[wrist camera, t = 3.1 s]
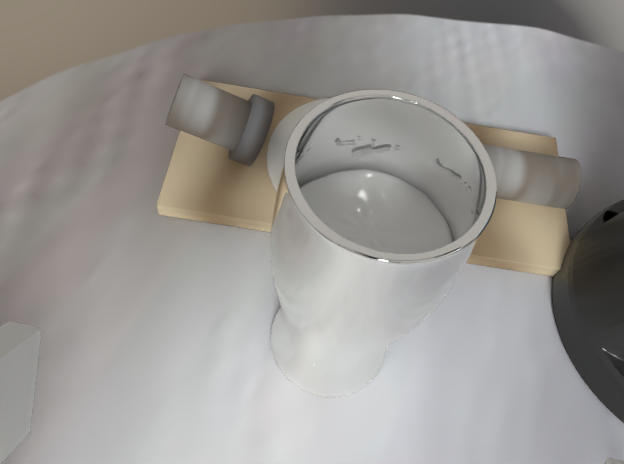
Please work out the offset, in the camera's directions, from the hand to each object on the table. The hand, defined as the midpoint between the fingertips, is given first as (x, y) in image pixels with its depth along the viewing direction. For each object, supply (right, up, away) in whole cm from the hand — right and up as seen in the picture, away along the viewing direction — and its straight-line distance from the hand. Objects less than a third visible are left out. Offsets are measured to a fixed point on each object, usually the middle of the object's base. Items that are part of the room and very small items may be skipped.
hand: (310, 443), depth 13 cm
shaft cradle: (+3, +8, +23) cm, 24 cm away
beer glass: (+1, -1, +17) cm, 17 cm away
